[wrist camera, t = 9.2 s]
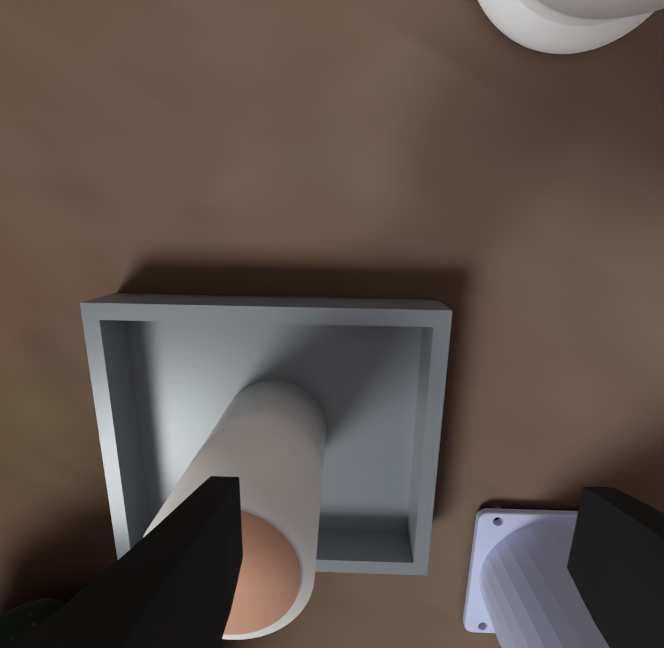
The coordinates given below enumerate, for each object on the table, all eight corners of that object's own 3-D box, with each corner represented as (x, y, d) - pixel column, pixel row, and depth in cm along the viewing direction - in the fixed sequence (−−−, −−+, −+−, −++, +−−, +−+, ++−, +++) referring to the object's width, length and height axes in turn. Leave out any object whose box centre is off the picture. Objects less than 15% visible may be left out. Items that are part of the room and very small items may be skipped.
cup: (327, 381, 18) (315, 503, 10) (325, 473, 19) (312, 649, 11) (223, 377, 18) (126, 495, 10) (227, 469, 19) (143, 640, 11)
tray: (436, 299, 17) (452, 310, 15) (416, 534, 20) (427, 575, 18) (116, 292, 17) (79, 302, 15) (144, 525, 20) (118, 565, 18)
